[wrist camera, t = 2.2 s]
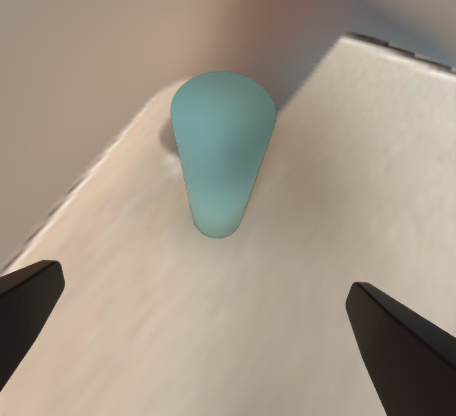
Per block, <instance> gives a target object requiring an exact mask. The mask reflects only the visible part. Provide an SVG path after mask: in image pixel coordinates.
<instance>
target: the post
mask: <svg viewBox="0 0 456 416" xmlns="http://www.w3.org/2000/svg"><path fill="white" fill-rule="evenodd" d="M170 111H171V119H172V124H173V128H174V133H175V138H176V142H177V147H178V152H179V156H180V161H181V166H182V170H183V175H184V180H185V184H186V189H187V194H188V198H189V203H190V208H191V212H192V217H193V221H194V224H195V226H196V227H197V229H198V230H199V231H200V232H201V233H202V234H204V235H206V236H208V237H211V238H223V237H226V236H229V235H230V234H232V233H233V232H234V231H235V230H236V229H237V228H238V226H239V224H240V222H241V219H242V216H243V213H244V211H245V208H246V205H247V202H248V199H249V197H250V194H251V191H252V188H253V185H254V182H255V180H256V177H257V174H258V171H259V168H260V166H261V163H262V160H263V157H264V154H265V151H266V149H267V146H268V143H269V140H270V137H271V135H272V132H273V129H274V126H275V122H276V108H275V105H274V102H273V100H272V99H271V96H270V95H269V94H268V93H267V91H266V90H265V89H264V88H263V87H262V86H261V85H260V84H258V83H257V82H255V81H253V80H252V79H250V78H248V77H246V76H243V75H240V74H236V73H231V72H210V73H205V74H201V75H199V76H196V77H194V78H192V79H190V80H189V81H187V82H186V83H184V84H183V85H182V86H181V87H180V88H179V89H178V91H177V92H176V94H175V95H174V97H173V100H172V103H171V110H170Z"/></svg>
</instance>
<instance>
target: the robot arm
mask: <svg viewBox="0 0 456 416" xmlns="http://www.w3.org/2000/svg"><path fill="white" fill-rule="evenodd" d="M64 287H65V280H64V276H63V271H62V267H61V264H60V262H59V261H55V260H42V261H39V262H37V263H34V264H32V265H29V266H27V267H24V268H22V269H19V270H17V271H14V272H12V273H10V274H7V275H5V276H2V277H0V392H1V390H2V389H3V387H4V386H5V384H6V383H7V382H8V380H9V379H10V377H11V376H12V374H13V373H14V371H15V370H16V368H17V367H18V365H19V364H20V362H21V361H22V360H23V358H24V357H25V355H26V354H27V352H28V351H29V349H30V348H31V346H32V345H33V343H34V342H35V340H36V338H37V337H38V335H39V333H40V332H41V330H42V328H43V326H44V325H45V323H46V321H47V319H48V317H49V316H50V314H51V312H52V310H53V308H54V307H55V305H56V303H57V301H58V299H59V298H60V296H61V294H62V292H63V290H64ZM346 311H347V314H348V317H349V320H350V323H351V326H352V329H353V332H354V335H355V338H356V341H357V344H358V347H359V350H360V353H361V356H362V359H363V361H364V363H365V366H366V368H367V371H368V373H369V375H370V378H371V380H372V382H373V384H374V387H375V389H376V391H377V394H378V396H379V398H380V400H381V403H382V405H383V407H384V410H385V412H386V414H387V416H456V338H455V337H454V336H452V335H450V334H449V333H447V332H446V331H444V330H442V329H441V328H439V327H438V326H436V325H435V324H433V323H431V322H430V321H428V320H427V319H425V318H423V317H422V316H420V315H419V314H417V313H416V312H414V311H412V310H411V309H409V308H408V307H406V306H404V305H403V304H401V303H400V302H398V301H396V300H395V299H393V298H392V297H390V296H389V295H387V294H385V293H384V292H382V291H381V290H379V289H377V288H376V287H374V286H373V285H371V284H369V283H367V282H354V283H353V284H352V286H351V289H350V291H349V294H348V297H347V300H346Z"/></svg>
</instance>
